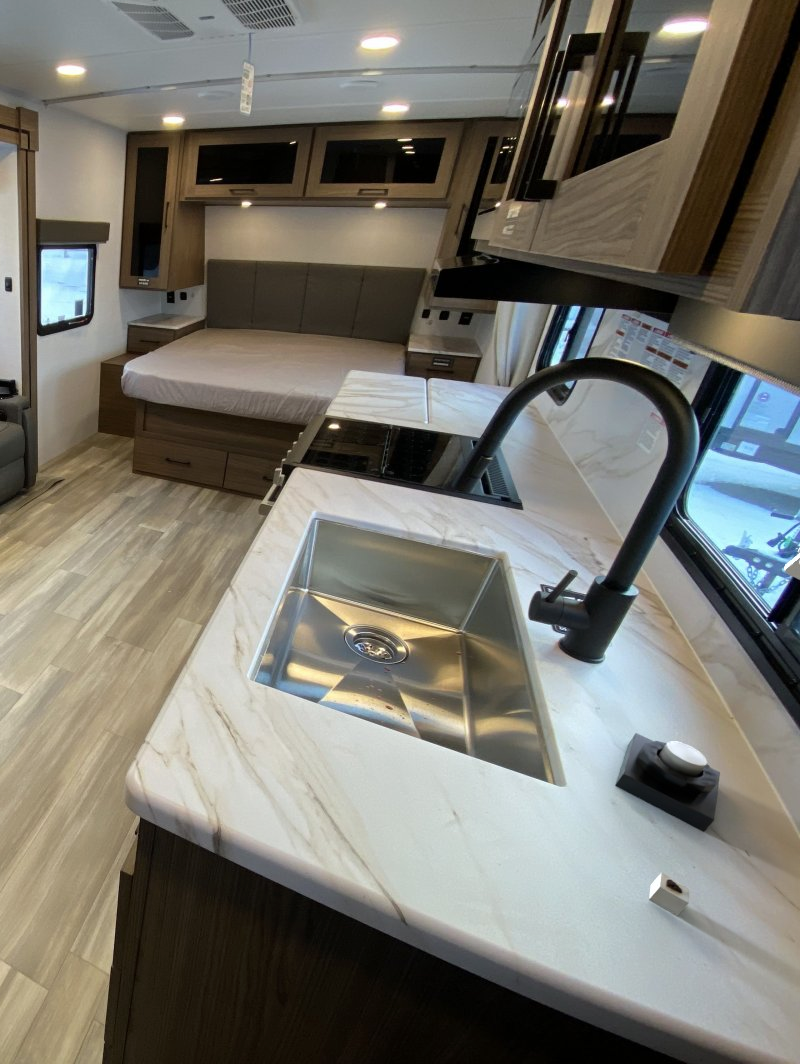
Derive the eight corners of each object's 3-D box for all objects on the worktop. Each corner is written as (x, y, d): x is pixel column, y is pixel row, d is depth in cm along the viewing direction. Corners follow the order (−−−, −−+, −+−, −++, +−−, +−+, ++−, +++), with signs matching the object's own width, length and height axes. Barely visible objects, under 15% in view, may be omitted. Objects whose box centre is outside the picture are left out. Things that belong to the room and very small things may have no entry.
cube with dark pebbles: (648, 900, 58) (660, 885, 57) (650, 885, 59) (662, 870, 58) (677, 916, 57) (690, 901, 56) (678, 901, 58) (691, 886, 57)
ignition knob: (660, 747, 71) (668, 736, 70) (699, 766, 69) (709, 754, 68) (656, 763, 69) (665, 751, 68) (697, 783, 67) (706, 770, 66)
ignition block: (627, 744, 76) (642, 722, 75) (710, 784, 71) (728, 761, 69) (614, 786, 70) (630, 763, 68) (704, 832, 65) (723, 809, 63)
